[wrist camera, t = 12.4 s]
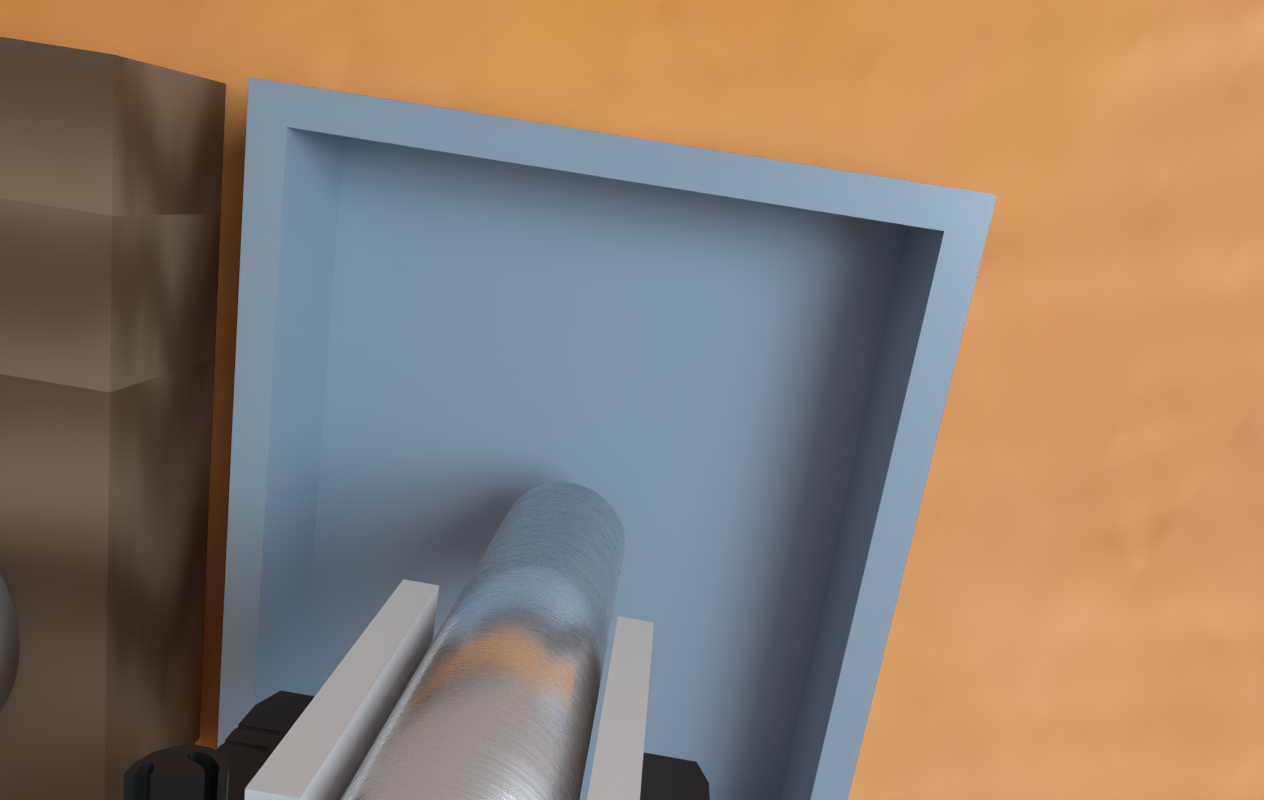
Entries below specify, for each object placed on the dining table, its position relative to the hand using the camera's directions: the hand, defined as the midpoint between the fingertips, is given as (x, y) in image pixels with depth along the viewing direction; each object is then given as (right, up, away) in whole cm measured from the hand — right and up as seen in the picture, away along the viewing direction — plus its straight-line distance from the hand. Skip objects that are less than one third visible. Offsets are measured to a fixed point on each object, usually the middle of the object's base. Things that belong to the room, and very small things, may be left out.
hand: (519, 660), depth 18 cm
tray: (+1, +2, +9) cm, 10 cm away
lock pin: (0, +1, +6) cm, 6 cm away
